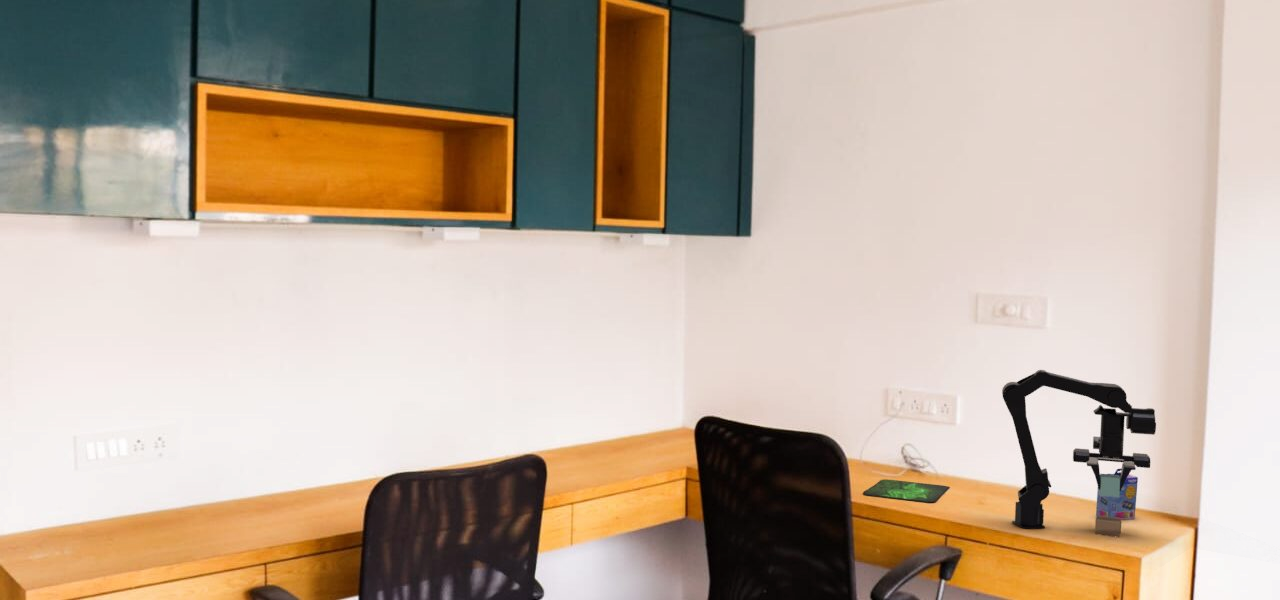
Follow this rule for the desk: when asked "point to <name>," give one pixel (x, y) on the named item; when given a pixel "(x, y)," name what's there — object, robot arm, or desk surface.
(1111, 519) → the walnut block
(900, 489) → the mouse mat
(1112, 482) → the teal block
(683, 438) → the desk surface
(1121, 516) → the ink cartridge box
